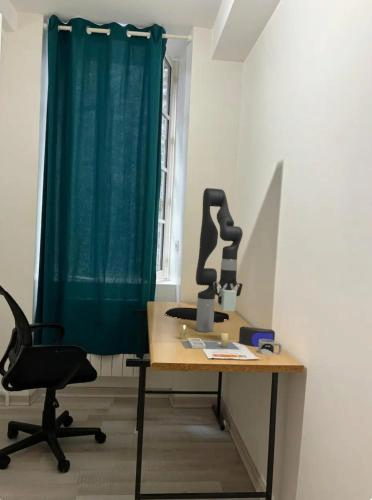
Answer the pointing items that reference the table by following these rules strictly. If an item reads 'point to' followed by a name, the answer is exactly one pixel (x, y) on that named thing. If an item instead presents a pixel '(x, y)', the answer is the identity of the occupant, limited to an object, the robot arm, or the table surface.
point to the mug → (268, 346)
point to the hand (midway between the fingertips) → (226, 304)
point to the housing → (228, 300)
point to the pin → (183, 331)
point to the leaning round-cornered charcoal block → (254, 335)
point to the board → (209, 343)
